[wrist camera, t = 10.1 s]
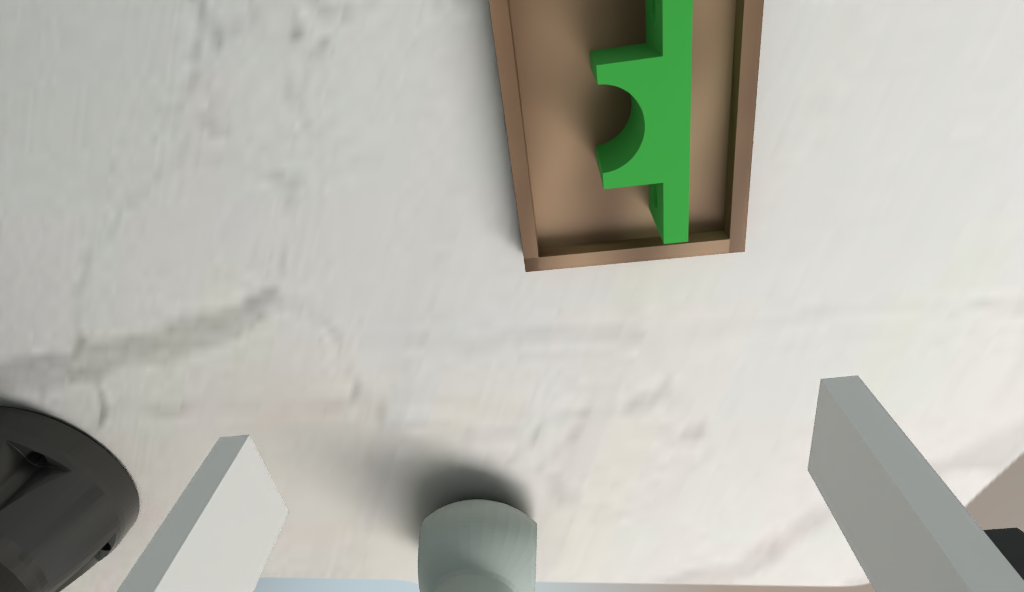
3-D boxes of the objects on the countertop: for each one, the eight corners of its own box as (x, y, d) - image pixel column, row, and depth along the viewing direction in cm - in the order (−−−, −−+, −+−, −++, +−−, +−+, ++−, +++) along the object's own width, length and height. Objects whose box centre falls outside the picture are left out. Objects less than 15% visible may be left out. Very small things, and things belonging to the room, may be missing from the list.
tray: (526, 257, 33) (525, 271, 31) (481, -86, 25) (476, -90, 23) (734, 237, 31) (744, 251, 30) (759, -132, 23) (774, -139, 22)
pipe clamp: (584, -22, 25) (591, -21, 21) (670, -35, 25) (694, -37, 21) (599, 214, 31) (607, 250, 27) (670, 207, 30) (689, 242, 26)
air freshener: (534, 572, 47) (531, 707, 39) (436, 567, 48) (411, 700, 39) (538, 480, 42) (535, 614, 33) (427, 476, 42) (396, 606, 34)
